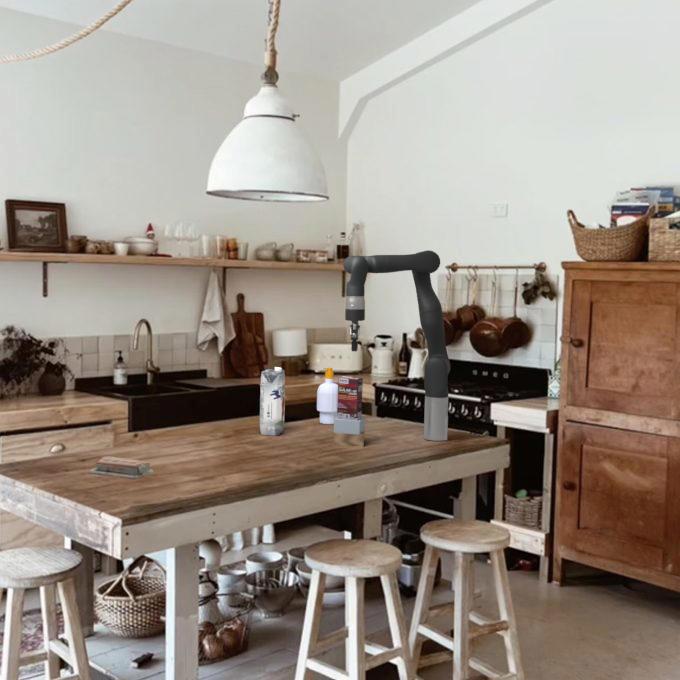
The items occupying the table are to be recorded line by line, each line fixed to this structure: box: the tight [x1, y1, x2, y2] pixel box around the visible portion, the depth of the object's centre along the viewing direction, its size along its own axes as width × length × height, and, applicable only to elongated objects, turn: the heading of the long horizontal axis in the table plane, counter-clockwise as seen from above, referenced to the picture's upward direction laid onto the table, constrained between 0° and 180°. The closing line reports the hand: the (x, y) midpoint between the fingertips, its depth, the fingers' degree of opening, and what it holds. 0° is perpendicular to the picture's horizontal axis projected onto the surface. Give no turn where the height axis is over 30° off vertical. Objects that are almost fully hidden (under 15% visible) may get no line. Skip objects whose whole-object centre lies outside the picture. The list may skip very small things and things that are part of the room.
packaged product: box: [88, 455, 154, 480], centre depth 279 cm, size 18×5×10 cm
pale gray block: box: [333, 416, 366, 435], centre depth 337 cm, size 10×10×5 cm
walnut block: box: [333, 430, 366, 447], centre depth 338 cm, size 11×11×5 cm
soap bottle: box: [316, 367, 338, 425], centre depth 381 cm, size 10×10×24 cm
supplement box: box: [337, 375, 364, 420], centre depth 336 cm, size 9×5×16 cm, turn 66°
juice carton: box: [259, 366, 286, 436], centre depth 353 cm, size 9×10×27 cm
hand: (354, 350), depth 337 cm, fingers open, 8 cm apart
